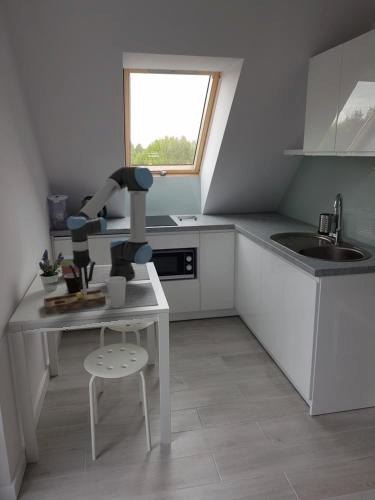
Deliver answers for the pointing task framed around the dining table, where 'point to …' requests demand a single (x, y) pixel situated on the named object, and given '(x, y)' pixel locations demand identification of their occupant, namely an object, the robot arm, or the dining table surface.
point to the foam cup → (116, 290)
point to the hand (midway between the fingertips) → (85, 295)
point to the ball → (79, 295)
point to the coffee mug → (72, 283)
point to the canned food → (64, 265)
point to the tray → (73, 301)
